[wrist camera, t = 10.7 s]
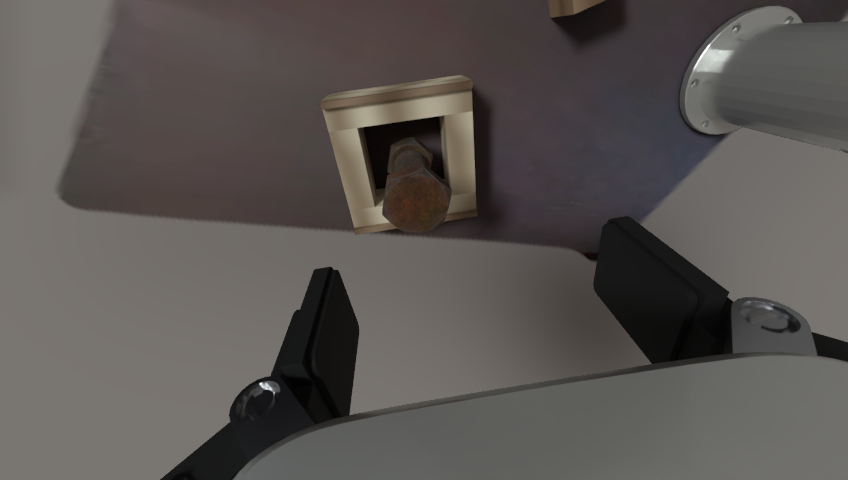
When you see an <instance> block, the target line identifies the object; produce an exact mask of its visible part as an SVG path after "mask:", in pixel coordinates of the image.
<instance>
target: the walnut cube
mask: <svg viewBox="0 0 848 480" xmlns="http://www.w3.org/2000/svg"><path fill="white" fill-rule="evenodd" d="M603 1H605V0H548V4H549V11H550V18H552V17H559V16H567V15H574V14H576V13H579V12H581V11H583V10H585V9H587V8H590V7H592V6H594V5H596V4H599V3H601V2H603Z"/></svg>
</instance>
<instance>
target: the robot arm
mask: <svg viewBox="0 0 848 480" xmlns="http://www.w3.org/2000/svg"><path fill="white" fill-rule="evenodd" d="M679 98H680V110H681V113H682V116H683V118H684V120H685V121H686V123H687V124H688V125H689V126H690V127H692V128H693V129H695V130H697V131H699V132H703V133H707V134H717V135H718V134H725V133H729V132H732V131H735V130H738V129H740V128H742V127H745V128H749V129H753V130H757V131H761V132H765V133H770V134H773V135H777V136H781V137H785V138H790V139H793V140H797V141H802V142H806V143H809V144H813V145H818V146H822V147H826V148H829V149H834V150H838V151H842V152H846V153H848V21H847V22H846V21H845V22H820V23H803V22H802V20H801V19H800V17H799V16H798V15H797V14H796V13H795V12H793V11H792V10H790V9H789V8H785V7H781V6H767V7H760V8H754V9H751V10H748V11H746V12H743V13H741V14H739V15H737V16H735V17H734V18H732V19H730V20H729V21H727V22H726V23H725V24H723V25H722V26H721V27H719V28H718V29H717V30H716V31H715V32H714V33H713V34H712V35H711V36H710V37H709V38H708V39H707V40H706V41H705V43H704V44H703V45H702V46H701V47H700V49H699V50H698V51H697V53H696V55H695V56H694V58H693V59H692V61H691V62H690V65H689V67H688V69H687V71H686V73H685V75H684V79H683V82H682V85H681V90H680V97H679ZM594 289H595V292H596V293H597V295H598V296H599V297H600V299H601V300H602V301H603V302H604V304H605V305H606V306H607V307H608V309H609V310H610V311H611V312H612V314H613V315H614V316H615V318H616V319H617V320H618V321H619V323H620V324H621V325H622V327H623V328H624V329H625V330H626V332H627V333H628V334H629V335H630V337H631V338H632V339H633V340H634V342H635V343H636V344H637V345H638V347H639V348H640V349H641V350H642V352H643V353H644V354H645V356H646V357H647V358H648V359H649V361H650V362H651V363H652V364H650V365H644V366H637V367H632V368H625V369H618V370H613V371H606V372H600V373H593V374H587V375H581V376H574V377H569V378H562V379H556V380H550V381H544V382H537V383H531V384H525V385H519V386H513V387H507V388H501V389H495V390H489V391H483V392H477V393H471V394H465V395H459V396H454V397H447V398H442V399H435V400H430V401H424V402H418V403H412V404H406V405H401V406H395V407H390V408H385V409H380V410H374V411H368V412H363V413H358V414H354V415H349V413H350V404H351V396H352V388H353V379H354V371H355V363H356V355H357V346H358V338H359V325H358V322H357V319H356V316H355V314H354V311H353V308H352V306H351V303H350V300H349V297H348V295H347V292H346V289H345V287H344V284H343V281H342V278H341V276H340V273H339V271H338V270H333V268H332V267H326V268H320V269H315V270H314V272H313V274H312V277H311V280H310V283H309V286H308V289H307V291H306V294H305V297H304V300H303V303H302V306H301V309H300V310H296V311H295V312H294V314H293V317H292V319H291V322H290V325H289V327H288V330H287V333H286V336H285V338H284V341H283V344H282V346H281V349H280V352H279V355H278V357H277V360H276V363H275V365H274V368H273V371H272V373H271V376H269V377H264V378H261V379H258V380H256V381H254V382H252V383H251V384H249V385H248V386H247V387H245V388H244V389H243V390H242V391H241V392H240V393H239V395H238V396H237V397H236V398H235V400H234V401H233V403H232V405H231V408H230V412H229V418H230V423H228V424H227V425H226V426H225V427H224V428H222V429H221V430H220V431H219V432H218V433H216V434H215V435H214V436H213V437H211V438H210V439H209V440H208V441H207V442H205V443H204V444H203V445H202V446H200V447H199V448H198V449H197V450H196V451H194V452H193V453H192V454H191V455H190V456H188V457H187V458H186V459H185V460H184V461H182V462H181V463H180V464H179V465H177V466H176V467H175V468H174V469H173V470H171V471H170V472H169V473H168V474H166V475H165V476H164V477H163V478H162V479H160V480H848V342H844V341H841V340H837V339H834V338H830V337H827V336H824V335H820V334H817V333H813V332H811V329H810V326H809V324H808V322H807V320H806V319H805V318H804V317H803V316H801V315H800V314H799V313H798V312H796V311H794V310H793V309H791V308H789V307H788V306H785V305H783V304H781V303H778V302H775V301H772V300H768V299H763V298H756V297H744V298H740V299H737V300H736V301H734V302H733V301H732V300H730V299H729V298H728V297H727V296H728V294H729V292H728V291H727V290H726V289H724V288H723V287H722V286H720V285H719V284H718V283H716V282H715V281H714V280H712V279H711V278H710V277H709V276H707V275H706V274H705V273H703V272H702V271H701V270H699V269H698V268H697V267H695V266H694V265H693V264H691V263H690V262H689V261H687V260H686V259H685V258H683V257H682V256H681V255H679V254H678V253H677V252H675V251H674V250H673V249H671V248H670V247H669V246H668V245H666V244H665V243H664V242H662V241H661V240H660V239H658V238H657V237H656V236H654V235H653V234H652V233H650V232H649V231H648V230H646V229H645V228H644V227H642V226H641V225H640V224H639V223H637V222H636V221H635V220H633V219H632V218H631V217H629V216H625V217H619V218H613V219H610V220H608V222H607V224H605V225H604V226H603V228H602V234H601V240H600V246H599V252H598V259H597V265H596V272H595V278H594Z"/></svg>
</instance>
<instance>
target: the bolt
mask: <svg viewBox="0 0 848 480" xmlns="http://www.w3.org/2000/svg"><path fill="white" fill-rule="evenodd" d="M432 158H433V155H432V152H431V151H430V150H429V149H428V148H427V147H425V146H424V145H423V144H422V143H421V142H420V141H419V140H417V139H416V138H415V137H412V138H411V137H404V138H403V139H401V140H400V141H399V142H397V143H395V144H393V145H391V149H390V155H389V162H388V173H389V174H390V175H387V181H386V188H385V194H384V201H383V207H382V215H383V216H384V217H385V218H386V219H387V220H388V221H389V222H390V223H391V224H393V225H394V226H395V227H397V228H398V229H400V230H402V231H403V232H405V233H408V234H410V235H411V234H419V233H423V232H426V231H429V230H432V229H434V228H436V227H438V226H440V225H441V224H443V223H444V221H445V219H446V215H447V212H448V209H449V205H450V200H451V194H452V190H451V187H450V185H449V184H447V183H446V182H445V181H444V180H443V179H441V178H440V177H439V176H438V175H437V174H436V173H434V172H433V171H432V170H431V164H432Z"/></svg>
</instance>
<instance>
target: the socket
mask: <svg viewBox="0 0 848 480" xmlns="http://www.w3.org/2000/svg"><path fill="white" fill-rule="evenodd" d="M472 88H473V80H471V79H468V78H466V77H464V76H462V75H457V76H451V77H444V78H437V79H430V80H423V81H416V82H409V83H402V84H395V85H388V86H381V87H374V88H367V89H360V90H353V91H346V92H339V93H332V94H329V95H327V96H326V97H325V98H324V99H323V100H322V101H321V102H320V107H321V110H323V113H324V116H325V120H326V124H327V127H328V131H329V135H330V139H331V142H332V146H333V150H334V153H335V157H336V161H337V165H338V168H339V172H340V176H341V179H342V183H343V187H344V191H345V194H346V198H347V202H348V205H349V209H350V213H351V217H352V220H353V224H354V232H355V235H357V234H364V233H370V232H377V231H384V230H390V229H397V227H395V226H394V225H393V224H391V223H390V222H389V221H388V220H387V219H386V218H385V217H384V216H383V215H382V207H383V201H384V194H385V188H382V189H376V186H375V181H374V176H373V171H372V167H371V162H370V157H369V153H368V148H367V143H366V139H365V134H364V129H363V127H368V126H374V125H381V124H388V123H395V122H402V121H409V120H416V119H423V118H429V117H436V116H439V123H440V134H441V145H442V156H443V167H444V178H445V179H443V180H444V181H445V182H446V183H447V184H449V185H450V187H451V190H452V194H451V200H450V205H449V209H448V212H447V215H446V219H445V221H450V220H457V219H464V218H470V217H477V216H478V211H477V210H476V186H475V160H474V134H473V108H472Z"/></svg>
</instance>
